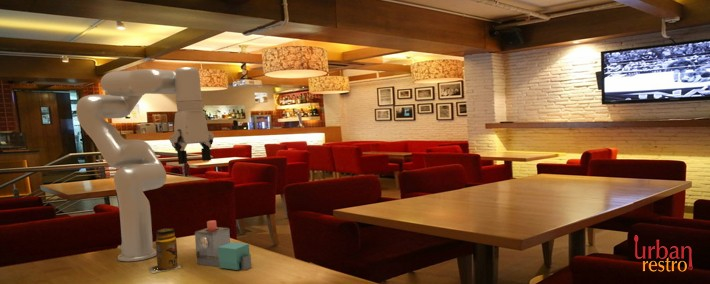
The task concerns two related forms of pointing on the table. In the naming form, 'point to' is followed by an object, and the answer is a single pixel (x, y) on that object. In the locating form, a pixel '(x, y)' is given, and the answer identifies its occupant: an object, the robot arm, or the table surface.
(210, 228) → the cylinder
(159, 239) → the condiment
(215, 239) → the frame
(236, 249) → the carriage
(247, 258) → the rail
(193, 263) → the table surface
